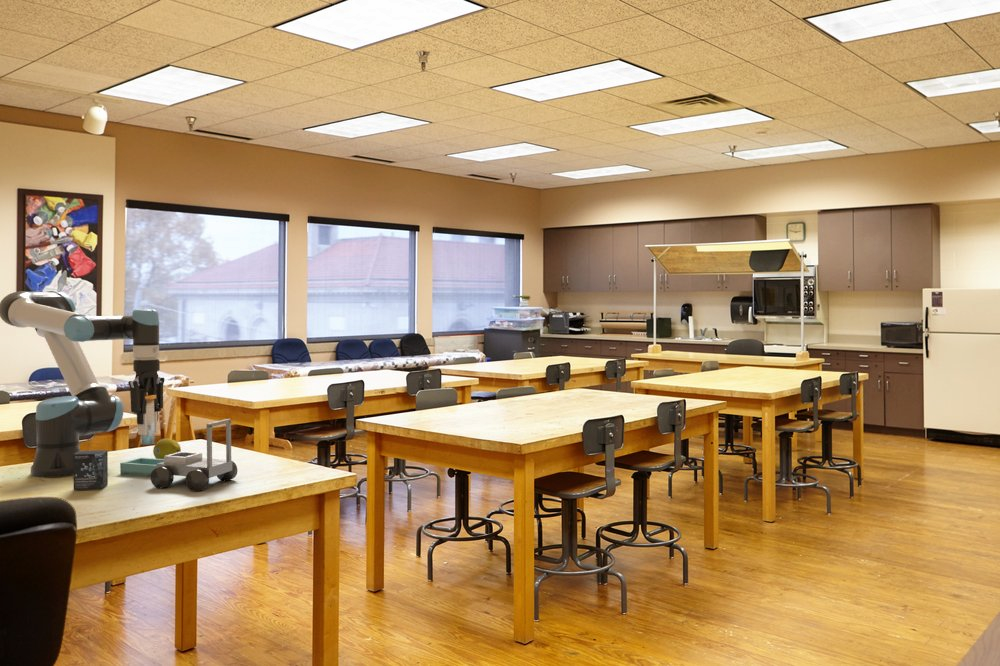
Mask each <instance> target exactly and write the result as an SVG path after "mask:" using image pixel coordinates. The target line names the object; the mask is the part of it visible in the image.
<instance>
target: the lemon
mask: <svg viewBox="0 0 1000 666" xmlns="http://www.w3.org/2000/svg"><path fill="white" fill-rule="evenodd" d="M177 452H182V450H181V446H180V444H179V442H178V441H177V440H174V439H173V438H161V439H159V440H158V441H157V442H155V443H154V446H153V449H152V453H153V457H154V459H164V456H166V455H170V454H174V453H177Z"/></svg>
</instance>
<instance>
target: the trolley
mask: <svg viewBox="0 0 1000 666" xmlns="http://www.w3.org/2000/svg"><path fill="white" fill-rule="evenodd" d="M222 425H225V444H226V445H225V446H226V447H225V450H226V451H225V452H226V453H225V454H226V455H225V456H226V459H219V458H218V459H216V458H215V459H214V458H213V428H214V427H218V426H222ZM175 476H179V477H185V485H186V487H187V488H188V490H189V491H191V492H194V493H195V492H196V493H197V492H199V491H203V490H205V489H206V488H208V485H209V483H210V479H211V478H214V477H216V478H217V479H218V480H220V481H221V482H229V481H231V480H233V479H235V478H236V477H237V476H238V467H237V464H236V463H235V462H234V461H233V460H232V419H231V418H226V419H225V418H224V419H221V420H216V421H212V422H209V423H206V457H205V458H204V457H203V453H202V452H192V451H181V452H177V453H174V454H170V455H166V456H164V462H161V463H157V464H156V468H155V469H154V470H153V471H152V473H151V477H150V483H151V484H152V485H153V487H154V488H157V489H158V490H159V489H163V488H167V487H169V486H171V485H172V484H173V482H174V479H175Z"/></svg>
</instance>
